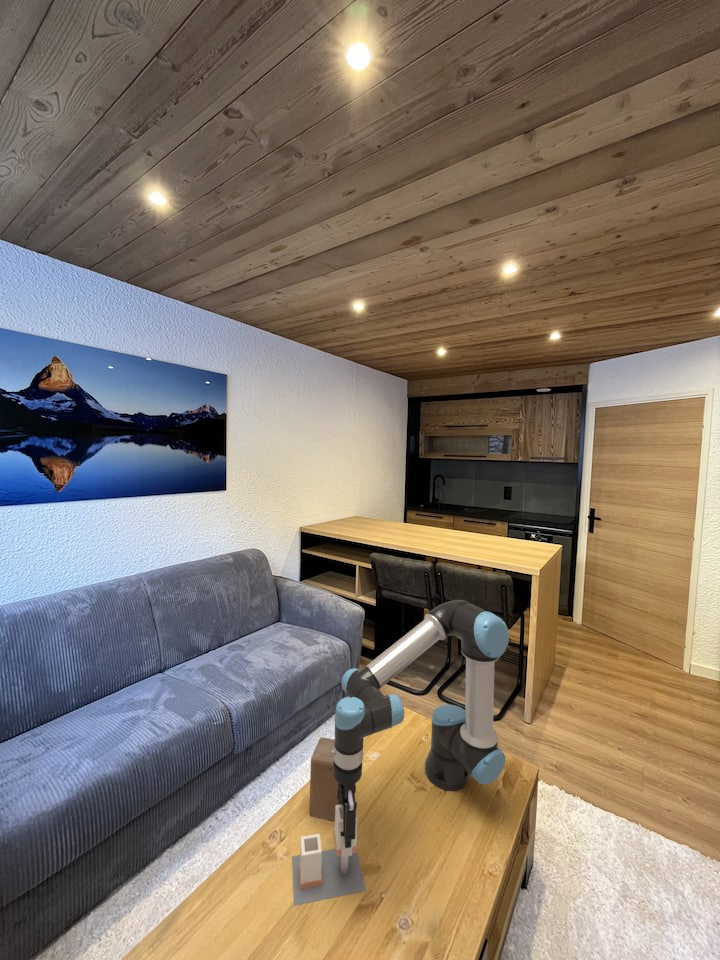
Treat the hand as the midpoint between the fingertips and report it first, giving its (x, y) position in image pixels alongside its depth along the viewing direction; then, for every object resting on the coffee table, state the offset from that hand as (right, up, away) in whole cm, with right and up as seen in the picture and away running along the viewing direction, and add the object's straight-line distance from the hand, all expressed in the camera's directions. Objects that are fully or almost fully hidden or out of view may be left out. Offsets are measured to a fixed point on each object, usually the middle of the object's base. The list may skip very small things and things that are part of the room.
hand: (344, 843), depth 105 cm
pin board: (-5, -9, 0) cm, 10 cm away
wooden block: (-6, -8, +20) cm, 22 cm away
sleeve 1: (-9, -8, -1) cm, 12 cm away
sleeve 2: (0, 0, 0) cm, 0 cm away
